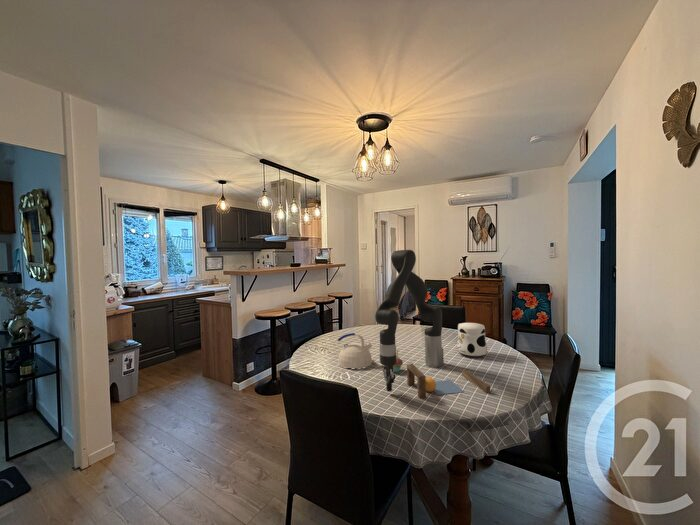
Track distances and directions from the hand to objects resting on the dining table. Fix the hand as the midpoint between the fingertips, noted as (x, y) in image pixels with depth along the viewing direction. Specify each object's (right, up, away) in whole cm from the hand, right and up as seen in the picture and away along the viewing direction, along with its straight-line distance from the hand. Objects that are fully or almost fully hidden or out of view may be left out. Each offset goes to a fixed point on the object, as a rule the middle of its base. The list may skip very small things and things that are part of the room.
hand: (389, 390), depth 135 cm
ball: (+19, +2, +1) cm, 19 cm away
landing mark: (+27, -1, +4) cm, 27 cm away
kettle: (-15, -2, +40) cm, 43 cm away
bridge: (+13, -1, +2) cm, 13 cm away
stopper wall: (+42, 0, +7) cm, 43 cm away
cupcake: (+7, -1, +27) cm, 27 cm away
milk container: (+58, +1, +48) cm, 75 cm away
